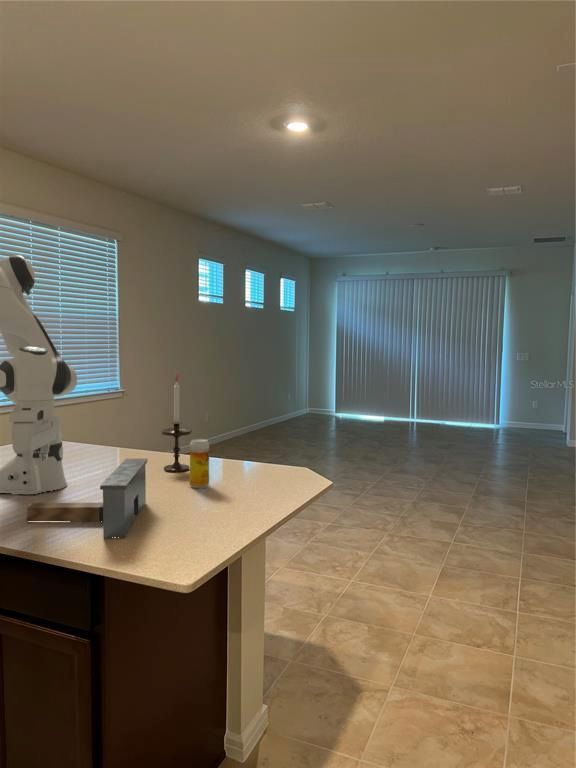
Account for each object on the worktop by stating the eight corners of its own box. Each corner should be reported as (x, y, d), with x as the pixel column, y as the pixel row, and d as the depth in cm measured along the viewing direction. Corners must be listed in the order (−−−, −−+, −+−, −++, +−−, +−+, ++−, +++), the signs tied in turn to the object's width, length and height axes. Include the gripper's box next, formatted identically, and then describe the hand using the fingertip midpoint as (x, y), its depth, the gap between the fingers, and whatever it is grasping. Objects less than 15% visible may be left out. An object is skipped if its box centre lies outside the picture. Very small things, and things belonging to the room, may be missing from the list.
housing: (100, 539, 129) (100, 485, 128) (126, 502, 158) (126, 458, 157) (126, 539, 130) (126, 485, 129) (147, 502, 159) (147, 458, 158)
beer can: (205, 489, 174) (205, 442, 172) (187, 488, 175) (187, 441, 174) (211, 484, 180) (211, 439, 178) (194, 483, 181) (194, 438, 180)
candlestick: (196, 470, 198) (196, 374, 195) (168, 474, 192) (168, 374, 189) (184, 464, 207) (184, 372, 204) (156, 468, 201) (156, 372, 198)
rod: (27, 523, 140) (26, 507, 140) (33, 518, 144) (32, 503, 144) (107, 522, 142) (107, 507, 141) (110, 517, 146) (110, 502, 145)
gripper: (38, 405, 150) (39, 455, 151) (5, 416, 129) (7, 473, 131) (61, 405, 150) (62, 455, 151) (33, 416, 130) (34, 473, 131)
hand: (37, 464), depth 141 cm, fingers open, 8 cm apart
